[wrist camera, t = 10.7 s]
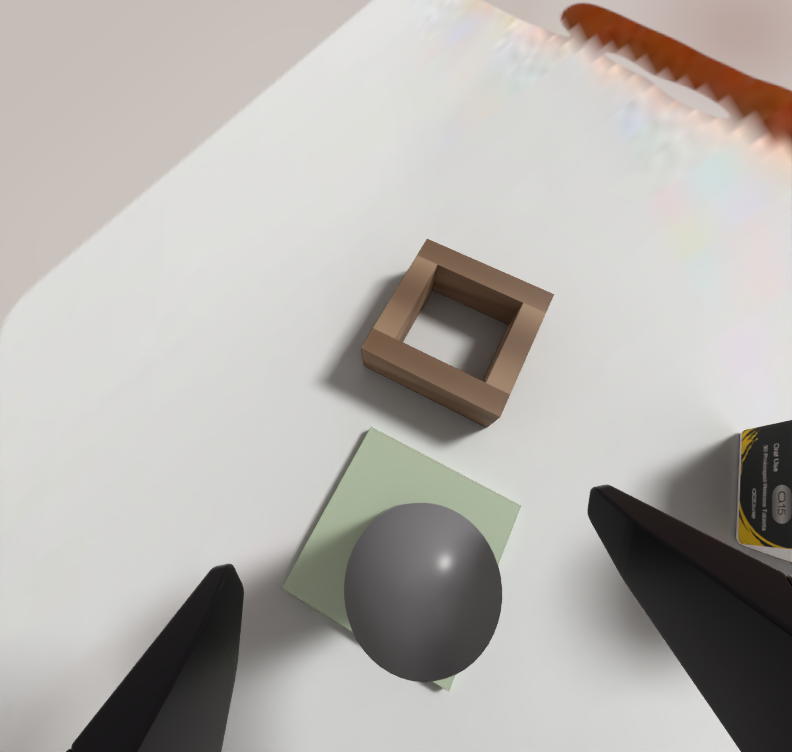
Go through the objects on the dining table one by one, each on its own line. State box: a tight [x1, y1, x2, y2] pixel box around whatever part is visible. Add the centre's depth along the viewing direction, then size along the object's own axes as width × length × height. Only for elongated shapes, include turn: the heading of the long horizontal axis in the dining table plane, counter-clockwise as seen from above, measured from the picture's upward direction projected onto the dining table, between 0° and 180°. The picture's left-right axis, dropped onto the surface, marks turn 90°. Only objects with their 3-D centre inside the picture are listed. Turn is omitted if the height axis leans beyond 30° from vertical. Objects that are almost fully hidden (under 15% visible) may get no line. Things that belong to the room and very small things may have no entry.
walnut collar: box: [361, 239, 554, 427], centre depth 25 cm, size 9×9×3 cm
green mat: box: [282, 427, 521, 691], centre depth 21 cm, size 10×10×1 cm
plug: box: [344, 503, 502, 682], centre depth 16 cm, size 4×4×11 cm
